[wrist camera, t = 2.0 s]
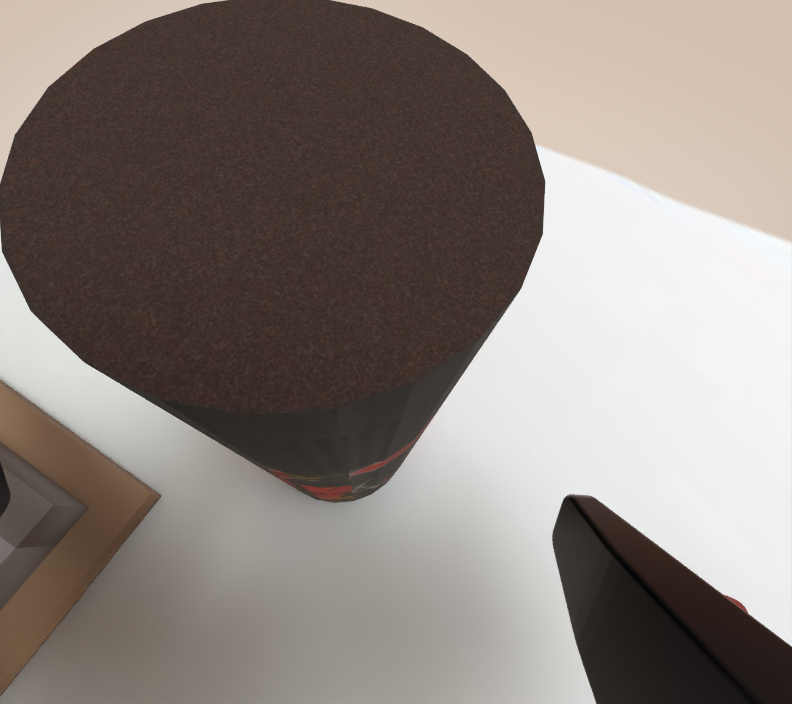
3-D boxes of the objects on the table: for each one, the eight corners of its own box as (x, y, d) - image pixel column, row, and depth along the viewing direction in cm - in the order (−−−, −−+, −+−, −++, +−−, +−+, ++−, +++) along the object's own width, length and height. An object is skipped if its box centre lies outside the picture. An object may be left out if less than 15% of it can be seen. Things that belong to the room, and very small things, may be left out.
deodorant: (263, 379, 19) (21, 8, 5) (392, 355, 20) (464, -15, 6) (280, 517, 17) (-37, 484, 3) (423, 484, 18) (629, 349, 4)
